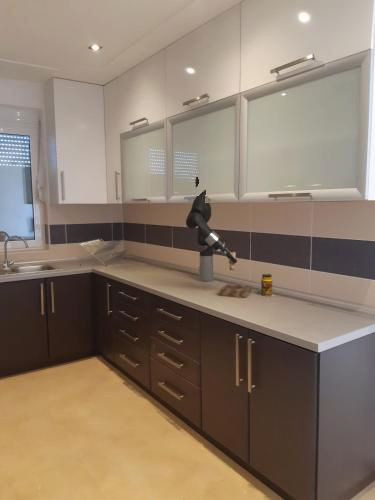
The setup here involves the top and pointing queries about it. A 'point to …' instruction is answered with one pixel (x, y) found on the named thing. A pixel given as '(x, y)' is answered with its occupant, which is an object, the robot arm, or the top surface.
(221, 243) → the robot arm
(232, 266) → the peg
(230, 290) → the clear brown food package
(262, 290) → the condiment
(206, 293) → the top surface
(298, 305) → the top surface
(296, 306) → the top surface
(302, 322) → the top surface
